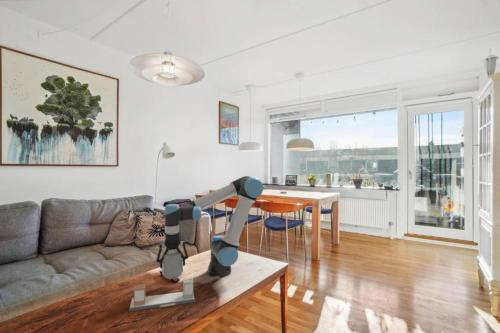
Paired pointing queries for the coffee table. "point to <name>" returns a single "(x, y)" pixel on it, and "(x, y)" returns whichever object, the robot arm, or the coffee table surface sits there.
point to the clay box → (139, 294)
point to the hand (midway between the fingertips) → (172, 272)
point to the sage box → (188, 288)
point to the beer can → (172, 264)
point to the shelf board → (161, 301)
